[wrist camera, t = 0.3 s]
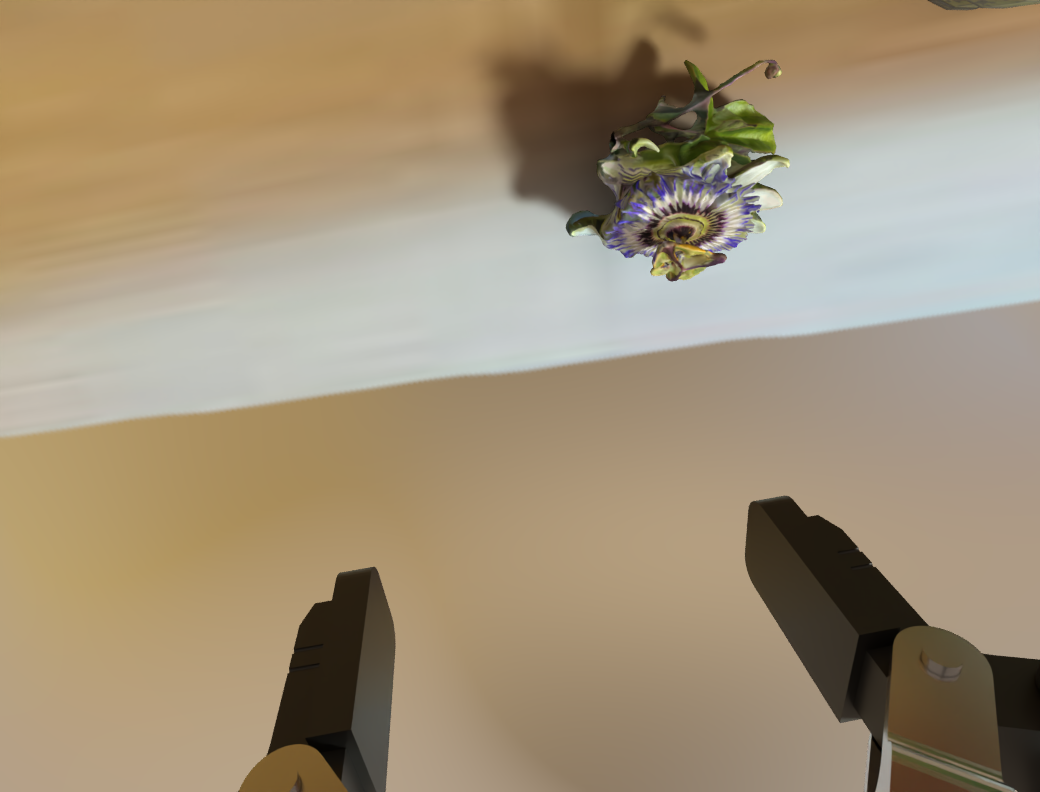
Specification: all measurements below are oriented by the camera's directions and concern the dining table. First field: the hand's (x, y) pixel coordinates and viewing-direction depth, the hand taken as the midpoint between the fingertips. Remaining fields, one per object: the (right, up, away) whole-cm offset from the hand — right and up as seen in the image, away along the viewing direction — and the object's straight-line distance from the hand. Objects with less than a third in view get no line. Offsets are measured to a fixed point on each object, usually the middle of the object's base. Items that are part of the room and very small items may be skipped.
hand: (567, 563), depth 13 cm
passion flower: (+8, +18, +25) cm, 32 cm away
